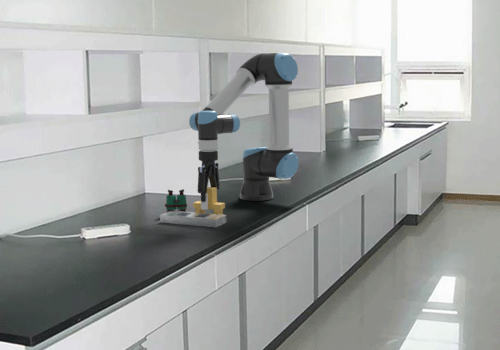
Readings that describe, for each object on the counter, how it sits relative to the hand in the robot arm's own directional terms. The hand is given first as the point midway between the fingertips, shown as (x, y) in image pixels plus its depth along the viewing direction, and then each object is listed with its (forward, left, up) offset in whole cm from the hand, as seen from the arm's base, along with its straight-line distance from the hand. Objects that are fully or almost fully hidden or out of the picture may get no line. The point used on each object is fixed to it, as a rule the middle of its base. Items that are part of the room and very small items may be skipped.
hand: (209, 207), depth 284 cm
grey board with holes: (+10, -2, -4) cm, 11 cm away
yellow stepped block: (0, 0, -4) cm, 4 cm away
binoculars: (-2, -16, -4) cm, 17 cm away
